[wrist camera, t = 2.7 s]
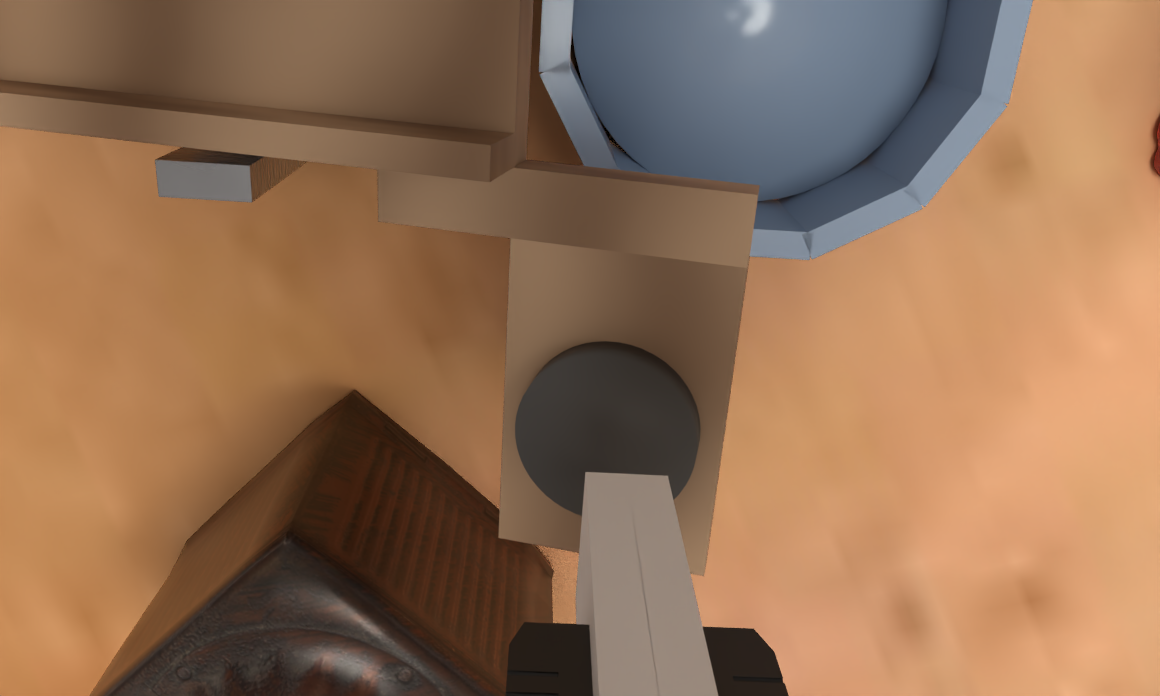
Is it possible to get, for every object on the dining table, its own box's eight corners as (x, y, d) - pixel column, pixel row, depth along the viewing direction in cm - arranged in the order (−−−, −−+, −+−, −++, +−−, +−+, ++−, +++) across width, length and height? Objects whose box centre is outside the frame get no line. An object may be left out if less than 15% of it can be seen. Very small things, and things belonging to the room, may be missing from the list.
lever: (-63, 412, 26) (-202, 480, 23) (-193, -189, 21) (-405, -227, 17) (707, 552, 22) (690, 661, 19) (805, -141, 17) (807, -178, 13)
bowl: (557, -248, 25) (556, -287, 21) (1012, -211, 25) (1089, -243, 22) (534, 209, 30) (530, 243, 26) (919, 233, 30) (969, 269, 26)
